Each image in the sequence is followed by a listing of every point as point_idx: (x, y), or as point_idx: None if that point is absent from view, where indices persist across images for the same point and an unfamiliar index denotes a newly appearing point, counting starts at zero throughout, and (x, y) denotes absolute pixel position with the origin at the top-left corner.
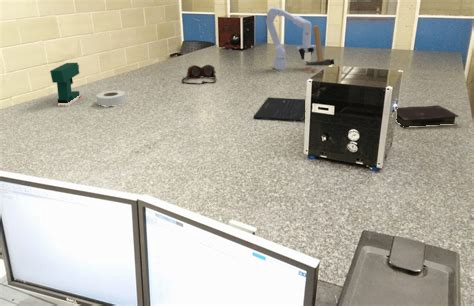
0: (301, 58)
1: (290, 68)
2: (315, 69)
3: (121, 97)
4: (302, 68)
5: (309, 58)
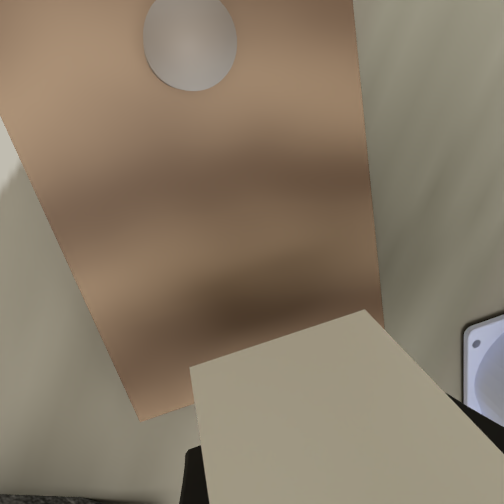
0: None
1: None
2: (82, 228)
3: None
4: None
5: (245, 400)
